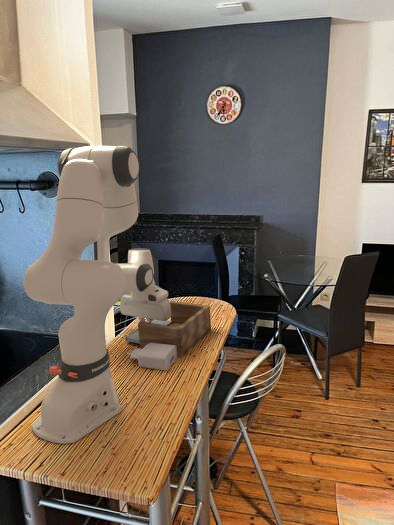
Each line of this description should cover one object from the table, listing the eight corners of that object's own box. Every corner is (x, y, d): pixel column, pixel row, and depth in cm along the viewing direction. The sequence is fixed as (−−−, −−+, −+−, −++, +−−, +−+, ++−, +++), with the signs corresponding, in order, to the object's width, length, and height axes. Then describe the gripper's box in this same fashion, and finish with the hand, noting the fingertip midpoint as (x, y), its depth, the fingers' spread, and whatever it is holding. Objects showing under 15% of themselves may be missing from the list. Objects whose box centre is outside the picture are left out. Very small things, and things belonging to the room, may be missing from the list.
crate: (181, 357, 127) (179, 329, 125) (140, 349, 135) (137, 323, 132) (211, 330, 146) (209, 305, 144) (173, 324, 153) (171, 301, 151)
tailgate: (144, 341, 135) (125, 337, 139) (144, 344, 136) (125, 340, 139) (171, 321, 151) (153, 318, 155) (171, 324, 151) (154, 321, 155)
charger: (135, 352, 133) (177, 357, 128) (122, 366, 125) (166, 372, 120) (134, 339, 132) (176, 343, 127) (120, 352, 124) (165, 357, 119)
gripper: (114, 292, 144) (118, 327, 148) (162, 298, 135) (165, 335, 139) (125, 286, 150) (128, 321, 153) (172, 292, 140) (174, 328, 144)
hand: (146, 328), depth 146 cm, fingers closed, pressing on tailgate
